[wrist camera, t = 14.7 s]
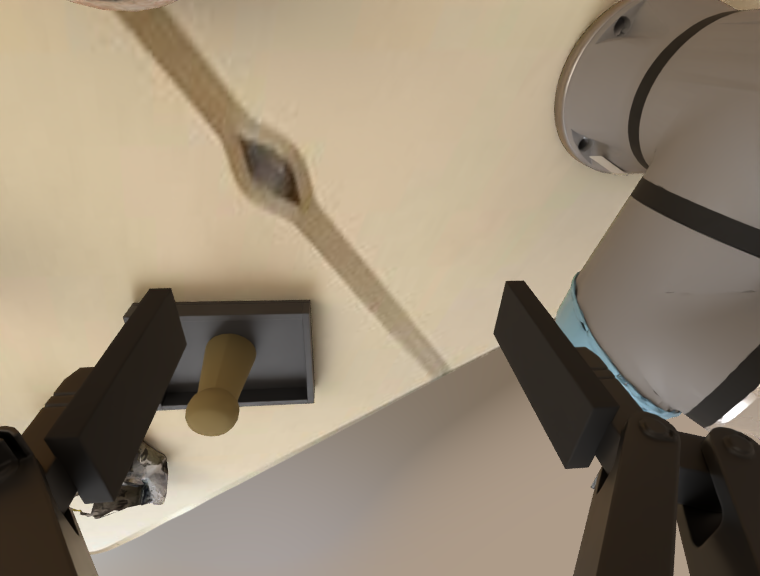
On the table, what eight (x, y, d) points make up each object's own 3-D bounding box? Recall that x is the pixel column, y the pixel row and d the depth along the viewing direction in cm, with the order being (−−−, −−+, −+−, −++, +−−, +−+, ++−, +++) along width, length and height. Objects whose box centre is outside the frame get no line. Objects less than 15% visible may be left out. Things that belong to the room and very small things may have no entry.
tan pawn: (248, 375, 52) (230, 449, 43) (199, 363, 50) (170, 438, 41) (262, 341, 49) (247, 413, 40) (212, 327, 47) (183, 399, 38)
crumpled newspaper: (104, 517, 60) (3, 535, 47) (111, 441, 65) (20, 438, 51) (177, 503, 60) (95, 517, 46) (179, 427, 64) (105, 420, 50)
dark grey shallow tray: (310, 299, 47) (309, 313, 45) (314, 388, 55) (314, 403, 53) (132, 302, 45) (122, 317, 43) (163, 394, 53) (156, 410, 51)
